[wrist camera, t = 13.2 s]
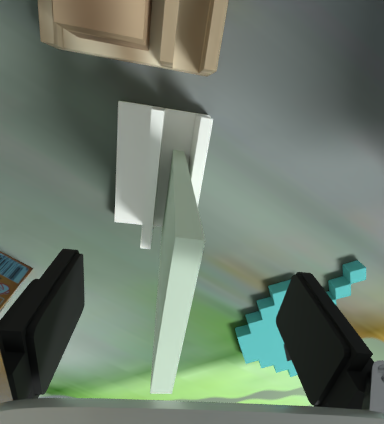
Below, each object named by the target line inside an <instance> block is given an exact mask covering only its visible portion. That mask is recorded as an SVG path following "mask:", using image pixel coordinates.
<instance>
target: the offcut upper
mask: <svg viewBox="0 0 384 424" xmlns="http://www.w3.org/2000/svg"><path fill="white" fill-rule="evenodd" d="M52 1H53V18H54V22H55V23H56V24H58V25H59V26H61V27H63V28H64V29H66V30H67V31H72V32H77V33H82V34H87V35H92V36H97V37H103V38H108V39H113V40H118V41H123V42H129V43H134V44H139V45H144V46H146V41H147V26H148V11H149V0H52Z"/></svg>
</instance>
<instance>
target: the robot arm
mask: <svg viewBox="0 0 384 424" xmlns="http://www.w3.org/2000/svg"><path fill="white" fill-rule="evenodd" d="M83 308H84V269H83V254H79V251H78V250H72V249H62V250H61V252H60V253H59V254H58V256H57V257H56V258H55V259H54V261H53V262H52V263H51V265H50V266H49V267H48V269H47V270H46V271H45V272H44V274H43V275H42V276H41V278H40V279H34V280H33V281H32V282H31V283H30V284H29V285H28V286H27V288H26V289H25V290H24V291H23V293H22V294H21V295H20V296H19V298H18V299H17V300H16V301H15V303H14V304H13V305H12V306H11V307H10V309H9V310H8V311H7V312H6V314H5V315H4V316H3V317H2V319H1V320H0V424H384V361H383V360H382V361H376V362H374V361H373V360H372V359H371V356H372V355H373V353H372V352H371V351H370V350H369V348H368V347H367V346H366V344H365V343H364V342H363V340H362V339H361V338H360V336H359V335H358V334H357V332H356V331H355V330H354V328H353V327H352V326H351V324H350V323H349V322H348V321H347V319H346V318H345V317H344V315H343V314H342V313H341V311H340V310H339V309H338V307H337V306H336V305H335V303H334V302H333V301H332V299H331V298H330V297H329V295H328V294H327V293H326V291H325V290H324V289H323V288H322V286H321V285H320V284H319V282H318V281H317V280H316V278H315V277H314V276H313V275H312V274H311V273H303V272H297V273H296V275H293V276H292V278H291V281H290V283H289V286H288V289H287V291H286V294H285V296H284V299H283V301H282V304H281V306H280V309H279V311H278V314H277V316H276V325H277V328H278V330H279V332H280V335H281V337H282V339H283V342H284V344H285V346H286V349H287V351H288V353H289V356H290V358H291V360H292V363H293V365H294V367H295V370H296V372H297V374H298V377H299V379H300V381H301V384H302V386H303V388H304V391H305V393H306V395H307V398H308V400H309V402H310V403H311V404H312V405H314V407H312V406H290V405H267V404H243V403H217V402H191V401H163V400H132V399H98V398H38V397H39V395H40V394H42V395H43V394H45V392H46V391H47V389H48V386H49V384H50V382H51V380H52V378H53V375H54V373H55V371H56V369H57V367H58V364H59V362H60V360H61V358H62V355H63V353H64V351H65V349H66V347H67V344H68V342H69V340H70V338H71V336H72V333H73V331H74V329H75V327H76V324H77V322H78V320H79V318H80V316H81V313H82V311H83Z"/></svg>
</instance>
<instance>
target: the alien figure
mask: <svg viewBox="0 0 384 424" xmlns="http://www.w3.org/2000/svg"><path fill="white" fill-rule="evenodd" d="M342 266H343V276H342V277H338V278H335V279H331V280H328V282H329V291H328V292H326V293H327V294H328V295H329V297H330V298H331V299H332V301H333V302H334V303H335V305H336V299H339V298H343V297H346V296H350V295H351V284H352V283H356V282H359V281H363V280H366V267H365V266H364V265H362V264H361V263H360V262H359V261H358V260H357V261H353V262H350V263H346V264H343V265H342ZM290 281H291V279H290V280H287V281H283V282H280V283H277V284H273V285H270V286H268V287H269V292H270V296H271V297H268V298H264V299H261V300H257V305H258V309H259V311H257V312H253V313H250V314H246V315H245V316H246V319H247V322H248V324H247V325H244V326H240V327H236V328H235V331H236V335H237V338H238V341H239V344H240V347H241V350H242V353H243V356H244V359H245V362H246V364H247V363H251V362H254V361H258V360H259V363H260V366H261V368H264V367H268V366H272V365H273V366H274V368H275V371H276V373H277V372H280V371H284V370H288V372H289V375H290V377H292V376H296V375H298V374H297V372H296V370H295V367H294V365H293V363H292V360H291V358H290V356H289V353H288V351H287V349H286V346H285V344H284V342H283V339H282V337H281V335H280V332H279V330H278V328H277V325H276V316H277V314H278V311H279V309H280V306H281V304H282V301H283V299H284V296H285V294H286V291H287V289H288V286H289V283H290Z"/></svg>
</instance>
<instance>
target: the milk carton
mask: <svg viewBox="0 0 384 424" xmlns="http://www.w3.org/2000/svg"><path fill="white" fill-rule="evenodd" d="M32 269H33V268H31V267H29V266H27V265H26V264H24V263H22V262H20V261H18V260H16V259H14V258H12V257H10V256H8V255H6V254H4V253H3V252H1V251H0V312H1V310H2V309H3V308H4V306H5V305H6V304H7V302H8V301H9V300H10V298H11V297H12V296H13V294H14V293H15V292H16V290H17V289H18V288H19V286H20V285H21V284H22V282H23V281H24V280H25V278H26V277H27V276H28V274H29V273H30V272H31V270H32Z"/></svg>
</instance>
